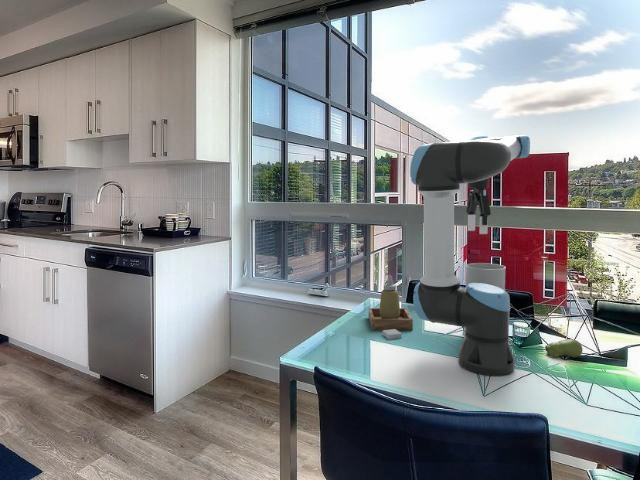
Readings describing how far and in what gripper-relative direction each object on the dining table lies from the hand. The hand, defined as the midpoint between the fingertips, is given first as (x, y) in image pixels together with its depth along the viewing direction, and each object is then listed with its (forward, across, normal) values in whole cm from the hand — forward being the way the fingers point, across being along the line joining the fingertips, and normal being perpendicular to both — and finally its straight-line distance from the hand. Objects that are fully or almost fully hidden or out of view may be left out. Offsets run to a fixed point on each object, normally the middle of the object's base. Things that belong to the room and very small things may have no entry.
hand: (477, 232), depth 158 cm
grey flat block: (+35, -21, +36) cm, 54 cm away
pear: (+35, -38, -14) cm, 54 cm away
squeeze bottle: (+34, -7, +35) cm, 49 cm away
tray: (+35, -7, +35) cm, 50 cm away
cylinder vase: (+35, -21, +4) cm, 41 cm away
